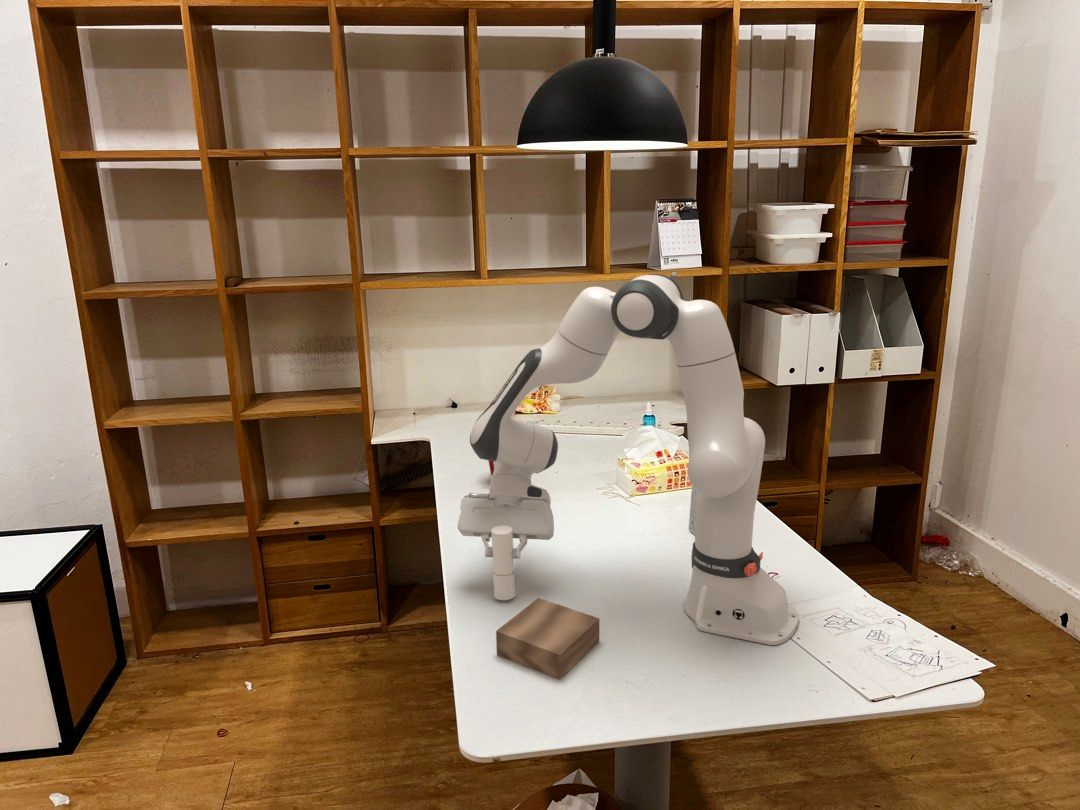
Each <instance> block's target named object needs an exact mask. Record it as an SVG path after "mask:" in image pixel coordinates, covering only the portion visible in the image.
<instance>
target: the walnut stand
mask: <svg viewBox="0 0 1080 810" xmlns="http://www.w3.org/2000/svg"><path fill="white" fill-rule="evenodd" d="M600 620H601V618H599V617H596V616H594V615H591V614H587V613H585V612H581V611H578V610H575V609H573V608H569V607H568V606H565V605H564V606H563V605H560V604H558V603H555V602H552V601H549V600H546V599H543V598H539V597H537V598H536V599H535V600H533V601H532V602H531V603H530V604H528V605H527V606H525V608H524V609H522V610H521V611H519V613H517V614H516V615H514V616H513V617H512V618H511V619H510V620H508V621H507V622H506V623H505V624H503V625H501V627H499V628H498V629H497V630H495V639H496V655H497V656H499V657H502V658H505V659H507V660H509V661H512V662H515V663H517V664H519V665H522V666H526V667H528V668H530V669H533V670H535V671H537V672H540V673H543V674H545V675H548V676H550V677H553V678H555V679H559V680H561V679H562V678H563V677H565V676H566V674H568V672H570V670H572V668H574V667H575V665H577V664H578V663H579V662H580V661H581V660H582V659H583V658H584V657H585V656H586V655H587V654H588V653H589V652H590V651H592V649H593V648H594V647H596V646H597V644H598V643H600Z"/></svg>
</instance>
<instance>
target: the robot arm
mask: <svg viewBox="0 0 1080 810" xmlns="http://www.w3.org/2000/svg"><path fill="white" fill-rule="evenodd" d="M727 324H728V323H726V319H725V317H724V315H723V313H722V310H721V308H720V307H719V305H717V304H716V303H714V301H710V300H706V299H694V300H684V297H683V291H682V289H681V288H680V285H679V284H678V282H676V280H674V279H673V278H672V277H670V276H668V275H665V274H662V273H651V274H645V275H640V276H637V277H635V278H632V279H631V280H629V281H627V282H626V283H624V284H623V285H621V286H620V287H619V289H617V290H616V292H614V291H612V290H610V289H608V288H605V287H602V286H589V287H586V288H585V289H583V290H581V292H580V293H579V294H578V296H577V297H576V298H575V300H574V301H573V302H572V304H571V306H570V307H569V309H568V310H567V312H565V315H564V317H563V318H562V321H561V323H560V324H559V326H558V329H557V331H556V332H555V333H554V335H553V336H552V337H551V338H550V340H548V341H547V342H546V343H545V344H544V345H542V346H540V347H539V348H534V349H532V350H529V352H527V354H526V355H524V357H523V358H522V360H520V362H519V363H518V364H517V366H516V367H515V369H514V370H513V371H512V372H511V375H510V376H509V377H508V378H507V380H506V381H505V383H504V384H503V386H502V387H501V388H500V390H499V391H498V393H497V394H496V395H495V397H494V399H493V400H492V402H491V403H490V404H489V406H487V408H486V409H485V410H484V411H483V412H482V413H481V414H480V415H479V417H478V418H477V419H476V421H475V422H474V424H473V427H472V429H471V432H470V436H469V444H470V446H471V448H472V450H473V453H475V454H476V456H477V457H478V458H479V459H480V460H486V461H488V460H489V461H493V464H494V472H493V475H491V477H490V484H489V491H488V492H489V493H476V492H475V493H473V492H472V493H471V492H469V493H468V494H467V495H464V496H463V497H462V498H461V502H460V514H459V517H458V522H457V530H458V532H459V533H460V534H461V535H462V536H464V537H481V540H482V543H483V545H484V547H485V550H484V556H485V558H493V554H492V546H489V542H491V538H492V532H491V530H492V528H494V527H496V526H500V525H505V526H509V527H511V528H512V534H513V539H518V541H519V542H520V543H519V544H518V545H517V547H513V550H512V551H513V553H512V557H513V559H515V560H516V559H518V560H520V559H521V554H522V551H523V550H524V549H525V547H526V546H527V545H528V540H540V541H541V540H542V541H543V540H544V541H550V540H551V539H552V538H553V537H554V536H555V535H554V534H555V521H554V520H555V519H554V514H553V510H552V507H551V504H552V503H551V502H552V501H551V500H552V499H551V496H550V494H549V492H548V491H547V489H545V488H542V487H541V486H537V485H534V484H532V475H533V474H540V473H542V472H543V471H546V470H548V469H549V468H551V467H552V466H553V465H554V464H555V462H556V460H557V456H558V450H559V443H558V439H557V436H556V434H555V432H554V431H553V430H552V429H550V428H548V427H545V426H543V425H541V424H540V425H539V424H536V423H532V422H528V421H524V420H520V419H518V418H514V417H512V416H513V415H514V413H515V412H516V411H517V409H518V408H519V406H520V405H521V403H522V402H523V400H524V399H525V398H526V396H527V395H528V394H529V393H530V392H531V391H533V390H534V389H536V388H539V387H542V386H548V385H554V384H558V385H559V384H577V383H581V382H583V381H586V380H588V379H590V378H592V377H593V376H595V375H596V374H597V372H598V371H600V369H601V367H602V366H603V364H604V362H605V360H606V359H607V356H608V354H609V353H610V351H611V349H612V346H613V344H614V342H615V341H616V339H617V338H618V336H619V335H620V333H623V334H624V335H627V336H629V337H632V338H637V339H650V340H651V339H652V340H661V341H662V340H665V339H667V340H668V341H669V343H670V345H671V348H672V351H673V355H674V361H675V364H676V368H677V372H678V376H679V381H680V384H681V385H680V386H681V389H682V393H683V398H684V403H685V412H686V425H687V426H686V427H687V442H688V464H687V476H688V480H689V482H690V484H691V486H692V485H693V487H694V488H695V489H696V490H697V491H698V492H699V493H701V494H700V498H699V501H698V504H697V509H696V531H695V535H694V536H695V537H694V541H693V543H692V548H691V569H692V572H691V578H690V583H689V588H688V591H687V594H686V597H685V599H684V603H683V609H684V612H685V613H686V614H687V616H688V617H689V618H690V619H692V620H693V622H694V624H695V627H696V629H697V630H699V631H701V632H706V633H711V634H714V635H719V636H725V637H730V638H734V639H739V640H740V639H741V640H744V641H747V642H749V641H750V642H755V643H759V644H764V645H769V646H777V645H781V644H783V643H785V642H786V641H788V640H789V639H790V638H791V637H792V636H793V635H794V633H795V632H796V631H797V629H798V628H799V627H798V626H799V623H800V622H799V621H800V620H799V619H800V618H799V613H798V611H797V610H796V609H795V608H793V607H792V606H789V605H788V597H787V594H786V590H785V588H784V587H783V586H782V585H781V584H780V583H778V581H776V580H775V579H774V578H773V577H771V576H770V574H768V573H767V572H766V571H765V570H764V569H763V568H762V567H761V562H762V560H763V557H764V556H763V555H764V552H763V551H761V552H760V553H759V554H757V553H756V551H755V549H754V548H753V533H754V532H753V531H754V519H755V518H754V517H755V511H756V510H755V509H756V504H757V499H758V494H759V489H760V481H761V478H762V477H761V475H762V469H763V468H762V467H763V463H764V454H765V448H766V437H765V433H764V430H763V429H762V427H761V425H759V424H758V423H757V422H756V421H754V419H751V418H749V417H745V416H744V415H745V414H744V413H745V412H744V398H745V397H744V396H745V391H744V385H743V382H742V376H741V373H740V368H739V365H738V360H737V354H736V351H735V347H734V342H733V339H732V335H731V333H730V330H729V328H728V325H727ZM489 461H488V462H489Z"/></svg>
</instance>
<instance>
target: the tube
mask: <svg viewBox="0 0 1080 810" xmlns="http://www.w3.org/2000/svg"><path fill="white" fill-rule="evenodd" d="M491 532H492V537H491V547H492V554H493V557H492V570H493V571H492V572H493V594H494V598H495V599H496V600H500V601H508V600H512V599H513V598H515V595H516V594H515V592H516V591H515V571H514V570H515V566H514V565H515V564H514V558H513V557H512V553H513V551H512V550H513V548H514V538H513V534H512V528H511V527H509V526H505V525H500V526H496V527H494V528H492V530H491Z"/></svg>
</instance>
